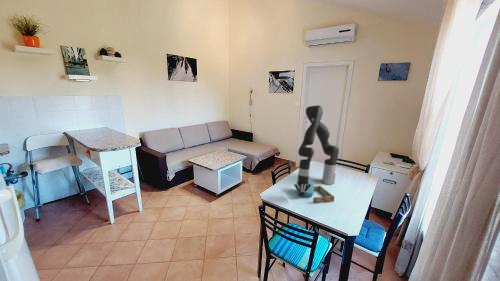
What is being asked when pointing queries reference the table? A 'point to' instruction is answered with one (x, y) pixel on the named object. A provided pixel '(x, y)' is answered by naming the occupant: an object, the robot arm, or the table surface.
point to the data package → (310, 190)
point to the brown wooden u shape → (328, 197)
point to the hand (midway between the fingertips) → (301, 196)
